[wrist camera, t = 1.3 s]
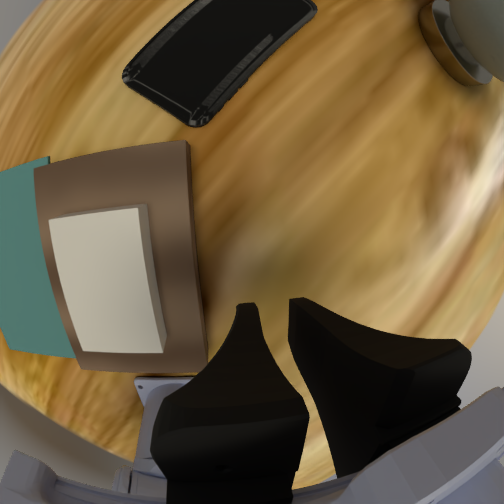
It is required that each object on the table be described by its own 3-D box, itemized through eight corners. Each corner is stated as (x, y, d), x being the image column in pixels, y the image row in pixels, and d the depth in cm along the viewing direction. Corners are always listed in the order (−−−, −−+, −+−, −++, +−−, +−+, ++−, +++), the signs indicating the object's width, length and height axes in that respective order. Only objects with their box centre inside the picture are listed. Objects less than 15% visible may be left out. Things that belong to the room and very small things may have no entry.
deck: (208, 348, 22) (208, 371, 19) (92, 349, 20) (81, 369, 17) (190, 145, 17) (185, 140, 14) (54, 167, 16) (33, 168, 13)
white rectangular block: (166, 335, 17) (162, 352, 16) (92, 335, 17) (82, 350, 15) (146, 203, 15) (137, 207, 13) (64, 214, 14) (48, 219, 12)
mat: (91, 357, 21) (90, 359, 20) (11, 347, 19) (9, 349, 19) (49, 156, 15) (47, 156, 15) (-29, 185, 14) (-31, 185, 14)
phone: (115, 78, 14) (247, -36, 12) (120, 82, 15) (245, -29, 13) (200, 133, 16) (324, 9, 14) (200, 135, 17) (319, 14, 15)
